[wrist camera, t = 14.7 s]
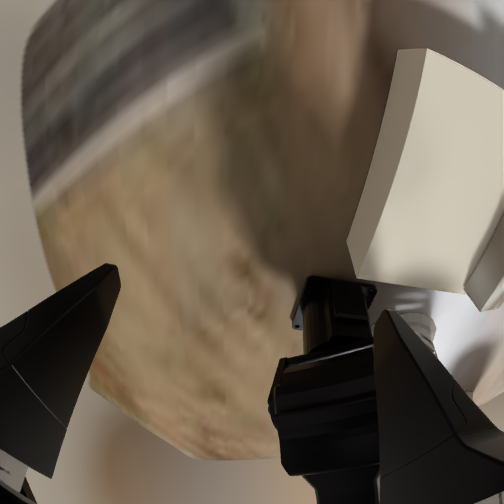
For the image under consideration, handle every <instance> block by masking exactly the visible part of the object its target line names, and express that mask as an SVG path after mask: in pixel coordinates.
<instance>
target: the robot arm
mask: <svg viewBox="0 0 504 504" xmlns="http://www.w3.org/2000/svg"><path fill="white" fill-rule="evenodd" d="M311 281H313V283H310V282H311ZM120 288H121V282H120V277H119V272H118V267H117V266H116V265H113V264H108V263H105V264H103V265H102V266H100V267H98V268H96V269H95V270H93V271H91V272H90V273H88V274H86V275H84V276H83V277H81V278H79V279H78V280H76V281H74V282H73V283H71V284H69V285H68V286H66V287H64V288H63V289H61V290H60V291H58V292H56V293H55V294H53V295H52V296H50V297H48V298H47V299H45V300H44V301H42V302H41V303H39V304H37V305H36V306H34V307H33V308H31V309H29V310H28V311H26V312H25V313H23V314H22V315H20V316H19V317H17V318H15V319H14V320H12V321H11V322H9V323H7V324H6V325H4V326H2V327H0V504H37V502H36V500H35V498H34V496H33V493H32V491H31V489H30V487H29V484H28V482H27V479H26V477H25V475H26V472H27V469H28V467H30V468H32V469H33V470H35V471H37V472H39V473H41V474H43V475H45V476H46V477H48V478H50V479H51V478H52V476H53V473H54V469H55V465H56V462H57V459H58V456H59V452H60V449H61V445H62V443H63V440H64V437H65V434H66V431H67V429H66V428H67V427H68V424H69V421H70V418H71V415H72V413H73V410H74V407H75V405H76V402H77V399H78V396H79V394H80V391H81V389H82V386H83V383H84V381H85V378H86V376H87V373H88V371H89V369H90V366H91V364H92V361H93V359H94V357H95V354H96V352H97V350H98V347H99V345H100V343H101V340H102V338H103V336H104V334H105V331H106V329H107V327H108V324H109V321H110V318H111V315H112V312H113V309H114V306H115V303H116V300H117V297H118V294H119V292H120ZM371 290H373V291H371ZM376 293H377V289H376V287H375V286H374V285H369V284H362V283H356V282H349V281H342V280H336V279H329V278H323V277H316V276H310V277H308V278H307V279H306V282H305V285H304V288H303V292H302V295H301V298H300V301H299V304H298V307H297V310H296V313H295V316H294V319H293V322H292V328H293V329H296V330H303V348H304V355H299V356H295V357H291V358H287V357H285V358H281V359H280V360H279V364H278V367H277V370H276V374H275V377H274V381H273V384H272V387H271V390H270V394H269V397H268V405H269V407H268V412H269V414H270V415H271V419H272V422H273V425H274V426H275V428H276V429H277V430H278V436H279V441H280V452H281V464H282V466H283V467H284V469H285V470H286V472H287V473H288V474H289V475H290V476H300V475H301V476H302V477H303V478H304V479H305V480H306V481H307V482H308V483H309V484H310V485H311V486H312V487H313V488H314V489H315V493H316V499H317V504H504V432H503V431H501V430H499V429H498V428H497V427H496V426H495V425H494V424H493V423H492V422H491V421H490V420H489V418H488V417H487V416H486V415H485V414H484V413H483V412H482V411H481V410H480V409H479V407H478V406H477V405H476V404H475V403H474V402H473V401H472V400H471V398H470V397H469V396H468V395H467V394H466V393H465V391H464V390H463V389H462V388H461V387H460V385H459V384H458V383H457V382H456V380H454V378H453V377H452V375H451V374H450V373H449V372H448V370H447V369H446V368H445V367H444V366H443V364H442V363H441V362H440V361H439V360H438V358H437V357H436V356H435V355H434V354H433V352H432V351H431V350H430V349H429V348H428V347H427V345H426V344H425V343H424V342H423V341H422V340H421V338H420V337H419V336H418V335H417V334H416V333H415V332H414V330H413V329H412V328H411V327H410V326H409V325H408V324H407V323H406V321H405V320H404V319H403V318H402V317H401V316H400V315H399V314H398V312H397V311H395V310H389V309H385V310H384V311H383V312H382V313H381V315H380V317H379V319H378V320H377V322H376V324H375V326H374V330H373V335H372V330H371V326H370V321H369V313H368V309H369V307H370V305H371V303H372V301H373V299H374V297H375V295H376Z"/></svg>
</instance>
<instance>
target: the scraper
mask: <svg viewBox="0 0 504 504" xmlns="http://www.w3.org/2000/svg"><path fill="white" fill-rule="evenodd" d="M464 291H465V292H466V293H467V295H468V296H469V297H470V299H471V300H472V301H473V303H474V304H475V306H476V307H477V308H478V310H479V311H480V312H482V311H487V310H492V309H497V308H499V307H500V306H501V304H502V303H503V301H504V214H503V216H502V218H501V220H500V222H499V225H498V227H497V229H496V231H495V233H494V235H493V237H492V239H491V241H490V243H489V245H488V247H487V249H486V251H485V252H484V254H483V256H482V258H481V260H480V262H479V263H478V265H477V267H476V269H475V270H474V272H473V274H472V276H471V277H470V279H469V281H468V282H467V284H466V286H465V287H464Z"/></svg>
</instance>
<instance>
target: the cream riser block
mask: <svg viewBox="0 0 504 504" xmlns="http://www.w3.org/2000/svg"><path fill="white" fill-rule="evenodd" d="M503 214H504V90H503V89H502V88H500V87H499V86H497V85H495V84H494V83H492V82H491V81H489V80H487V79H486V78H484V77H482V76H481V75H479V74H477V73H475V72H474V71H472V70H470V69H468V68H466V67H465V66H463V65H461V64H459V63H457V62H455V61H453V60H451V59H449V58H447V57H445V56H443V55H441V54H439V53H437V52H434V51H432V50H430V49H428V48H419V49H400V50H398V51H397V57H396V62H395V67H394V72H393V77H392V82H391V86H390V91H389V95H388V100H387V104H386V108H385V112H384V116H383V120H382V124H381V128H380V132H379V136H378V140H377V144H376V147H375V151H374V155H373V158H372V162H371V165H370V169H369V172H368V175H367V179H366V182H365V185H364V189H363V192H362V195H361V198H360V202H359V205H358V208H357V211H356V214H355V217H354V220H353V223H352V226H351V229H350V232H349V235H348V238H347V241H346V242H347V245H348V249H349V252H350V256H351V260H352V263H353V267H354V271H355V274H356V278H358V279H364V280H371V281H378V282H384V283H391V284H397V285H404V286H411V287H418V288H424V289H431V290H438V291H445V292H452V293H459V294H466V292H465V291H464V287H465V286H466V284H467V282H468V281H469V279H470V277H471V276H472V274H473V272H474V270H475V269H476V267H477V265H478V263H479V262H480V260H481V258H482V256H483V254H484V252H485V251H486V249H487V247H488V245H489V243H490V241H491V239H492V237H493V235H494V233H495V231H496V229H497V227H498V225H499V222H500V220H501V218H502V216H503Z"/></svg>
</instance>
